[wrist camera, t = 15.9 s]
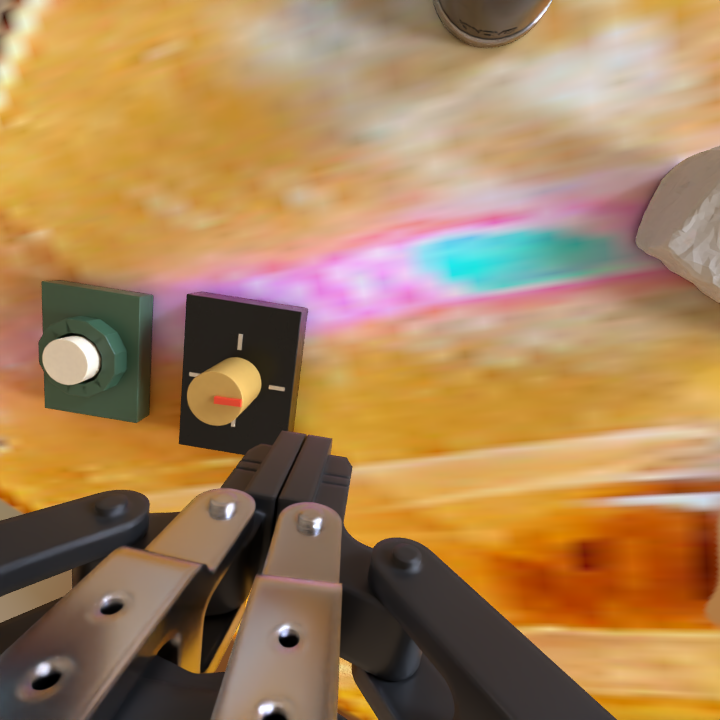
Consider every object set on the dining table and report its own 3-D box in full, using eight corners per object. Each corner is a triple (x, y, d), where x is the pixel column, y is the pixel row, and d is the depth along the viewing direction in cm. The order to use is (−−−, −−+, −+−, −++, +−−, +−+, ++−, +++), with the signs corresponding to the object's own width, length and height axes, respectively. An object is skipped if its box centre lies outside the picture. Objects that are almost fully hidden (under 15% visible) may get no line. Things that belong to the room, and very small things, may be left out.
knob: (211, 401, 38) (184, 423, 33) (213, 354, 37) (185, 369, 32) (260, 407, 38) (240, 430, 33) (262, 360, 37) (242, 376, 32)
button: (57, 332, 37) (41, 335, 35) (101, 339, 37) (87, 343, 35) (58, 375, 38) (42, 381, 36) (101, 382, 38) (87, 388, 36)
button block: (59, 280, 40) (24, 281, 36) (153, 294, 39) (127, 298, 35) (61, 400, 42) (28, 414, 38) (149, 415, 42) (125, 430, 38)
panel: (201, 291, 39) (185, 294, 36) (308, 308, 39) (301, 312, 36) (192, 431, 42) (177, 444, 39) (291, 448, 42) (283, 462, 39)
